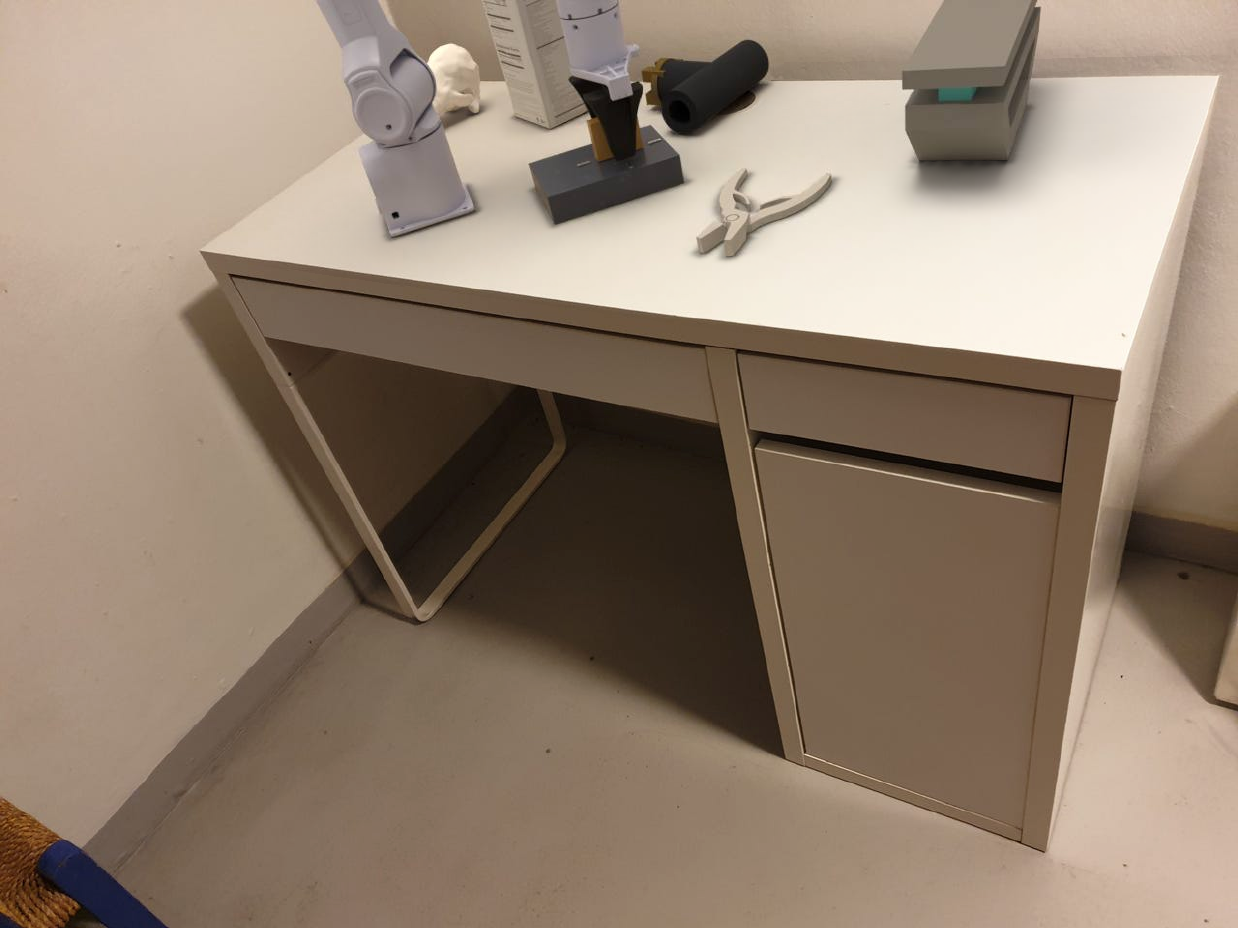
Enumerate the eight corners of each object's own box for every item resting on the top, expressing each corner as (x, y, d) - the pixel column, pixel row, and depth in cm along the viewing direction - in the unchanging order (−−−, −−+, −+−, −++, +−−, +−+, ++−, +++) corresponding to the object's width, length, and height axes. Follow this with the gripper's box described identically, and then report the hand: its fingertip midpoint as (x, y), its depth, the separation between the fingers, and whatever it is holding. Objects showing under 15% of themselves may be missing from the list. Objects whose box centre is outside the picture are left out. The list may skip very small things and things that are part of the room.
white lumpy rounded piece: (472, 38, 118) (410, 83, 112) (496, 100, 123) (438, 146, 118) (440, 37, 121) (378, 81, 116) (464, 98, 127) (406, 142, 121)
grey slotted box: (955, 84, 97) (959, -27, 90) (1035, 81, 93) (1045, -35, 86) (902, 194, 81) (902, 71, 74) (995, 195, 78) (1004, 66, 71)
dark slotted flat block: (554, 224, 91) (546, 195, 89) (535, 189, 99) (527, 162, 97) (684, 183, 92) (679, 153, 90) (655, 151, 100) (650, 123, 98)
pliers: (833, 165, 85) (763, 244, 76) (834, 180, 86) (765, 260, 77) (739, 160, 90) (664, 233, 81) (741, 174, 91) (667, 249, 82)
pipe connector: (612, 83, 103) (686, 35, 111) (620, 129, 107) (691, 79, 114) (694, 90, 97) (766, 39, 105) (700, 138, 100) (770, 85, 108)
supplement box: (572, 90, 121) (539, -49, 110) (611, 101, 115) (580, -44, 104) (512, 117, 118) (472, -23, 107) (549, 130, 111) (510, -17, 101)
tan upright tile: (598, 162, 93) (589, 122, 90) (595, 158, 94) (585, 118, 91) (643, 148, 93) (635, 107, 91) (640, 143, 94) (632, 103, 92)
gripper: (651, 13, 80) (676, 160, 88) (609, -17, 91) (635, 116, 99) (575, 36, 79) (608, 182, 88) (542, 3, 90) (574, 135, 99)
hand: (618, 148), depth 93 cm, fingers open, 5 cm apart
